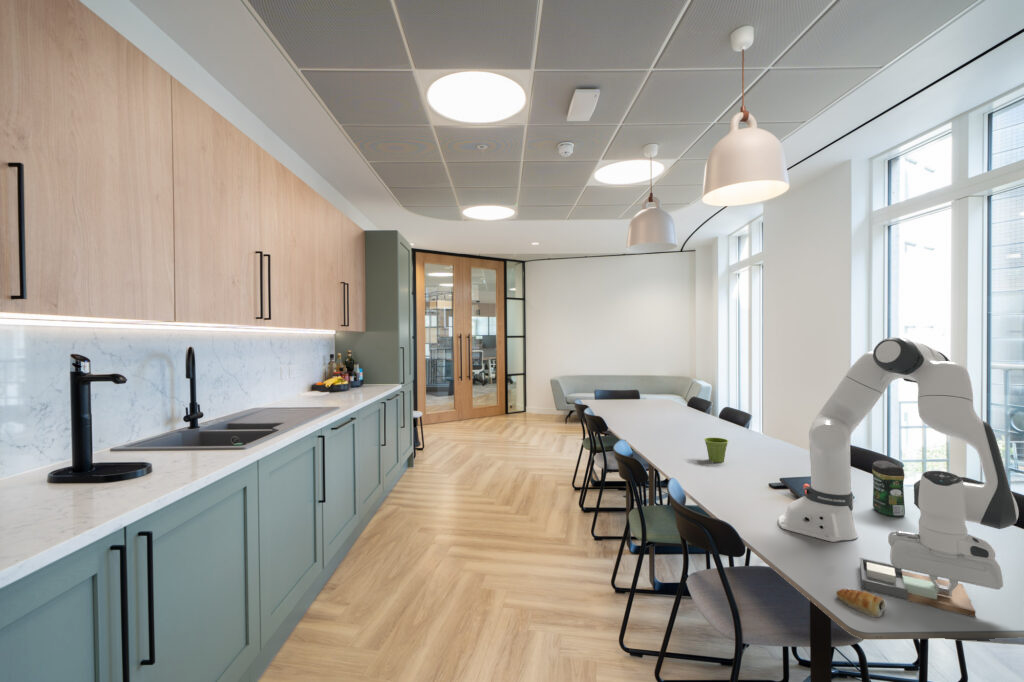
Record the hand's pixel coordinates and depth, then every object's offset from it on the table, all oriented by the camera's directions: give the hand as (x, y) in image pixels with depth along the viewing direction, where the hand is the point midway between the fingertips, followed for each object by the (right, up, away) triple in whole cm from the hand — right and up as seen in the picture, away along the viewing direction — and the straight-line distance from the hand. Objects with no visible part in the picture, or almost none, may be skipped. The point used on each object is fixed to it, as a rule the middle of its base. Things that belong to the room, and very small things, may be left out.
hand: (943, 594), depth 112 cm
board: (+1, -2, +3) cm, 4 cm away
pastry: (-21, -3, -1) cm, 21 cm away
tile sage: (-4, -1, +2) cm, 5 cm away
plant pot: (+1, -1, +125) cm, 125 cm away
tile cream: (-6, -2, +12) cm, 13 cm away
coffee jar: (+32, -1, +54) cm, 63 cm away
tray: (-8, -2, +9) cm, 12 cm away
